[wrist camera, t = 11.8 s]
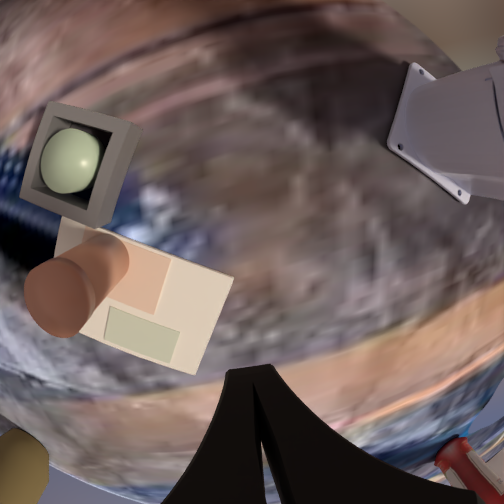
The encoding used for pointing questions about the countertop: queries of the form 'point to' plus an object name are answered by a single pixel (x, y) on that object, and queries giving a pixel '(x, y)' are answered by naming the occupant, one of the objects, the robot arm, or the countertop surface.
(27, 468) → the squeeze bottle
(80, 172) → the button
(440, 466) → the liquor
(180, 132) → the countertop surface
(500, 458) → the milk
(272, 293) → the countertop surface
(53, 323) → the brown round-topped peg
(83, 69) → the countertop surface
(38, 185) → the button housing
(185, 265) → the sheet
